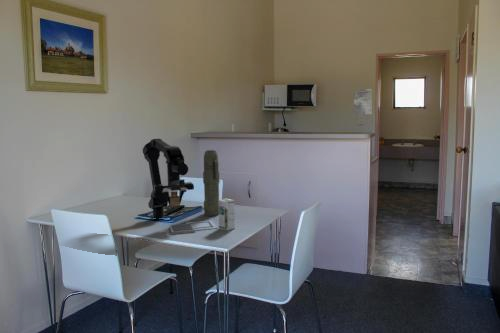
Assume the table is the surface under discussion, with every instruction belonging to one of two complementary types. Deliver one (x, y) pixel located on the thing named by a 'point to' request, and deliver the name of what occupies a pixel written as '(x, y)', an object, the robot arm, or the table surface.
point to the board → (203, 225)
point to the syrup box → (226, 214)
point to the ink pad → (181, 228)
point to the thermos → (211, 183)
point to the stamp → (174, 200)
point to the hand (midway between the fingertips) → (174, 204)
